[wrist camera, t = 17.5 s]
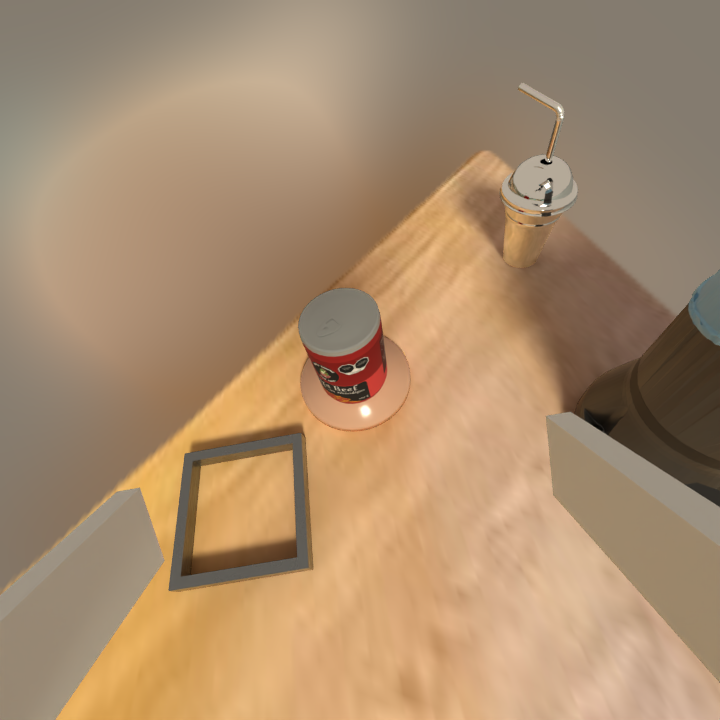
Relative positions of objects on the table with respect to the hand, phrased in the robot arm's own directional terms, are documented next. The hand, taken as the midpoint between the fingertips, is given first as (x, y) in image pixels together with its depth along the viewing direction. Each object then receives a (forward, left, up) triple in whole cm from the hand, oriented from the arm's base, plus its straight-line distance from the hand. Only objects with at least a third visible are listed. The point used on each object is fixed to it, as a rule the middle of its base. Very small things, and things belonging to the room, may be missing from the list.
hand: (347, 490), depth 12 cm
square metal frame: (+7, -14, -28) cm, 32 cm away
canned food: (-11, -17, -27) cm, 34 cm away
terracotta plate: (-11, -17, -28) cm, 34 cm away
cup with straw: (-40, -15, -28) cm, 51 cm away
